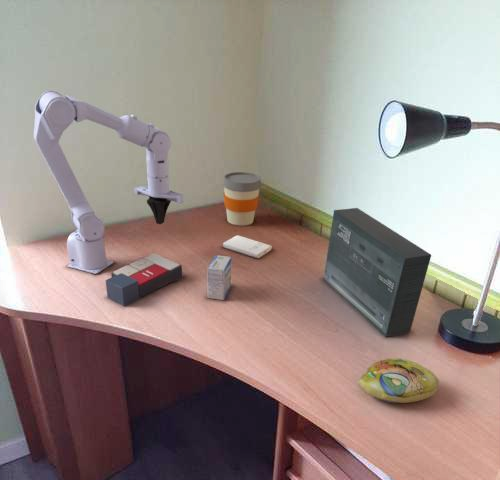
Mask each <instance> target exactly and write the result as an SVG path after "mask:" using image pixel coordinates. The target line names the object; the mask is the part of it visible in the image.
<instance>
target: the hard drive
mask: <svg viewBox="0 0 500 480" xmlns="http://www.w3.org/2000/svg"><path fill="white" fill-rule="evenodd" d="M222 247H223V248H225V249H226V250H227V249H228V250H229V251H230V250H231V251H233V252H238V253H240V254H243V255H246V256H249V257H252V258H256V259H259V258H261V257H263V256H264V255H266V254H267V253H269V252H270V251H272V248H273V247H272V245H270V244H267V243H264V242H261V241H257V240H254V239H251V238H248V237H244V236H241V235H239V234H236V235H235V236H233V237H232V238H229V239H228V240H225V241H224V242H223V243H222Z"/></svg>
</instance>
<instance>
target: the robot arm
mask: <svg viewBox="0 0 500 480" xmlns="http://www.w3.org/2000/svg"><path fill="white" fill-rule="evenodd" d="M86 120H88V121H90V122H93V123H96V124H98V125H101V126H103V127H106V128H108V129H112V130H114V131H116V134H117V136H118V137H119V138H120V139H122V140H125V141H127V142H130V143H132V144H135V145H137V146H140V147H141V148H142V147H143V148H145V154H146V155H145V157H146V158H145V162H146V178H147V179H146V180H147V186H143V185H142V186H141V185H137V186H135V187H134V188H133V190H134V195H136V196H139V195H141V196H145V197H148V199H146V204H147V205H148V206H149V208H150V210H151V212H152V214H153V217H154V220H155V223H156V224H157V225H162V224H164V223H165V219H166V215H167V211H168V209H169V207H170V204H171V202H175V203H177V204H182V203H184V202H185V195H184V194H182V193H178V192H176V191H173V190H171V189H170V171H169V151H170V150H171V147H172V143H173V142H172V141H171V139H170V136H169V135H168V133H167V132H166V131H164V130H162V129H160V128H158V127H156V126H155V125H154V124H153V123H150V122H149V123H147V122H144V121H142V120H139V119H138V116H137V115H135V114H130V115H128V114H125V115H122V116H117V115H115V114H113V113H110V112H108V111H106V110H104V109H102V108H100V107H98V106H96V105H93V104H91V103H89V102H87V101H86V100H83V99H81V98H77V97H74V96H72V95H68V94H61V93H59V91H55V90H47V91H44V92H42V93H41V94H40V96H39V97H38V99H37V101H36V103H35V104H34V124H33V140H34V142H35V144H36V146H37V148H38V150H39V151H40V154H41V155H42V157H43V159H44V162H45V163H46V165H47V167H48V168H49V171H50V173H51V174H52V177H53V178H54V180H55V182H56V184H57V186H58V189H59V190H60V191H61V193H62V195H63V197H64V200H65V201H66V203H67V205H68V209H69V210H70V213H71V215H70V216H71V217H70V218H71V222H72V224H73V225H74V226H75V228H76V230H75V231H73V232H71V233H70V234H69V236H68V238H67V240H66V249H67V256H68V259H69V260H68V261H69V263H68V264H67V268H71V269H75V270H78V271H83V272H86V273H90V274H94V275H98V274H99V273H100V272H102V271H104V270H105V269H107V268H108V267H109V266H111V265H113V264H114V260H110V259H107V254H106V245H105V244H106V243H105V235H104V233H105V230H106V227H105V223H104V222H103V220H101V218H99V217H98V215H97V214H96V213H95V211H94V209H93V208H92V206H91V205H90V204H89V201H88V200H87V197H86V196H85V194H84V191H83V189H82V188H81V186H80V183H79V181H78V179H77V177H76V175H75V173H74V171H73V169H72V167H71V165H70V163H69V161H68V159H67V157H66V155H65V153H64V151H63V149H62V147H61V144H60V140H61V137H62V135H63V133H64V132H65V131H66V130H67V129H68V128H69V127H70V126H71V125H72V124H73V123H74V121H75V122H76V123H81V122H83V121H86Z"/></svg>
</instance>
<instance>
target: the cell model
mask: <svg viewBox="0 0 500 480" xmlns="http://www.w3.org/2000/svg"><path fill="white" fill-rule="evenodd" d="M357 382H358V385H359V387H360V388H361V389H362V390H364V392H365V393H366V394H368V395H369V396H372V397H373V398H376V399H378V400H381V401H383V402H388V403H397V404H399V403H401V404H404V403H405V404H406V403H415V402H419V401H422V400H425V399H428V398H431V397H433V396H434V395H435V394H436V393H437V392H438V390H439V386H440V385H439V384H440V382H439V379H438V377H437V376H436V374H435V373H434V372H433V371H431V370H430V369H429V368H427V367H425V366H423V365H421V364H419V363H417V362H414V361H412V360H409V359H404V358H396V357H392V358H391V357H390V358H385V359H380V360H377V361H375V362H373V363H372V364H371V365H369V367H368V368H367V370H366V371H364V373H363V374H362V375H361V376H360V378H359V379H358V381H357Z"/></svg>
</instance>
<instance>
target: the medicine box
mask: <svg viewBox="0 0 500 480" xmlns="http://www.w3.org/2000/svg"><path fill="white" fill-rule="evenodd" d="M232 262H233V258H232V257H231V256H226V255H219V254H218V255H217V254H216V255H215V256H214V258H213V260H212V261H211V263H210V264H209V266H208V267H207V270H206V290H207V291H206V293H207V294H206V295H207V299H212V300H220V301H225V299H226V297H227V295H228V293H229V291H230V289H231V287H232V266H233V265H232V264H233V263H232Z"/></svg>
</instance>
